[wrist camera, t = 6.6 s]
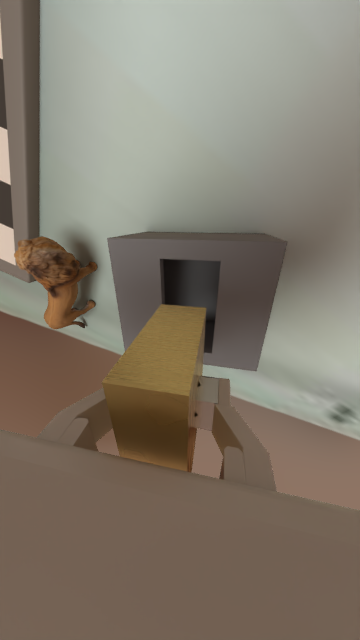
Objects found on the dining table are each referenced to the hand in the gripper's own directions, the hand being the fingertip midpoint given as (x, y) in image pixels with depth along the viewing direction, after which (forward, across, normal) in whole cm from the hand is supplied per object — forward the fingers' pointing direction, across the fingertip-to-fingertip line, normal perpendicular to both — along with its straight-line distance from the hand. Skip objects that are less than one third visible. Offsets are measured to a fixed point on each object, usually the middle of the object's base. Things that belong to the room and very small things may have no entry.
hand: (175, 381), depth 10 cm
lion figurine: (+18, +18, 0) cm, 26 cm away
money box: (+18, +1, 0) cm, 18 cm away
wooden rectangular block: (+2, 0, 0) cm, 2 cm away
